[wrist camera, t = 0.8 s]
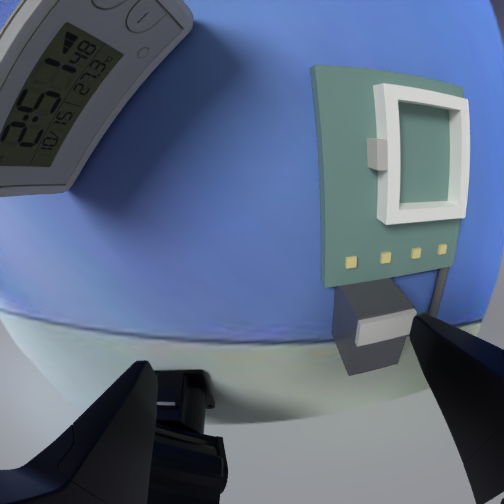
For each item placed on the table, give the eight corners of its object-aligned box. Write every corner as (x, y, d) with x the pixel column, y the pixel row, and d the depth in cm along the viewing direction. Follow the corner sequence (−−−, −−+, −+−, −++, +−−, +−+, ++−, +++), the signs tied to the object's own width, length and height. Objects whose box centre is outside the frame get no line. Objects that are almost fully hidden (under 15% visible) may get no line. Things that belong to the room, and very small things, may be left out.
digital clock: (65, 200, 18) (-27, 257, 9) (15, 125, 15) (-79, 145, 6) (227, 55, 15) (215, -21, 5) (157, -18, 12) (106, -95, 2)
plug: (374, 324, 25) (400, 367, 19) (331, 332, 25) (350, 380, 19) (383, 270, 22) (417, 310, 17) (335, 277, 22) (361, 322, 17)
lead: (426, 332, 26) (430, 338, 25) (419, 334, 26) (423, 340, 25) (450, 230, 21) (456, 235, 20) (443, 231, 21) (449, 236, 20)
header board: (445, 260, 22) (461, 273, 20) (320, 280, 22) (330, 298, 20) (453, 87, 16) (474, 86, 13) (310, 68, 16) (320, 60, 13)
